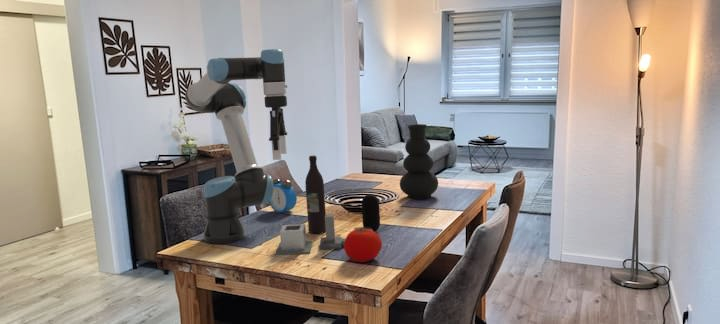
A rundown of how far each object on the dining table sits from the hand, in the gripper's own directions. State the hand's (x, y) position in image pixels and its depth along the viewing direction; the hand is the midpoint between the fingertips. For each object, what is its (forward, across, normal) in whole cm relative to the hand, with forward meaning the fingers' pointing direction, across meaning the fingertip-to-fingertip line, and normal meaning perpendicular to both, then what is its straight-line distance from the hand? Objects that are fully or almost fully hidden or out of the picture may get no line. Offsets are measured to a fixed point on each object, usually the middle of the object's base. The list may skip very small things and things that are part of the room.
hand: (280, 156), depth 178 cm
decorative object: (+33, +11, -31) cm, 47 cm away
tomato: (+33, -18, -27) cm, 46 cm away
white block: (+32, -3, -3) cm, 32 cm away
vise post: (+33, -2, -22) cm, 39 cm away
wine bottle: (+33, +16, -10) cm, 38 cm away
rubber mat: (+33, -3, -3) cm, 33 cm away
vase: (+33, +63, -56) cm, 90 cm away
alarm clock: (+33, +50, +8) cm, 60 cm away
